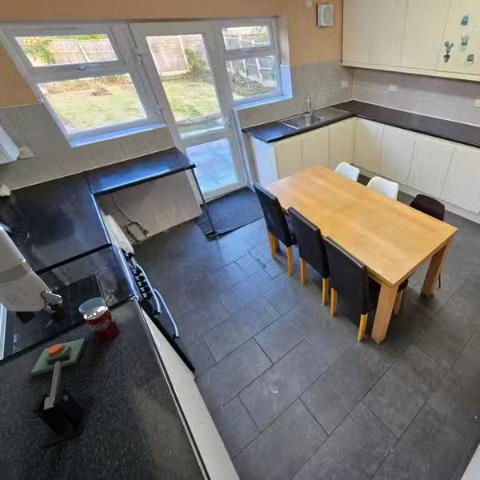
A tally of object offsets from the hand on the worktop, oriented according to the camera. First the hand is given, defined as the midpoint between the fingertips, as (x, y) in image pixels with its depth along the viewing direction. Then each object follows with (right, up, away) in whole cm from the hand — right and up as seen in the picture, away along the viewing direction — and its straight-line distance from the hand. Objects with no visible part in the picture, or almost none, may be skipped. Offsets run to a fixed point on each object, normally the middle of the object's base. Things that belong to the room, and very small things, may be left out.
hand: (45, 320), depth 77 cm
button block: (-11, -18, +17) cm, 27 cm away
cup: (-8, -11, +30) cm, 33 cm away
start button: (-11, -15, +15) cm, 24 cm away
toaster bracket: (+9, -28, -2) cm, 30 cm away
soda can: (-1, -13, +25) cm, 28 cm away
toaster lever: (+7, -16, -3) cm, 18 cm away
